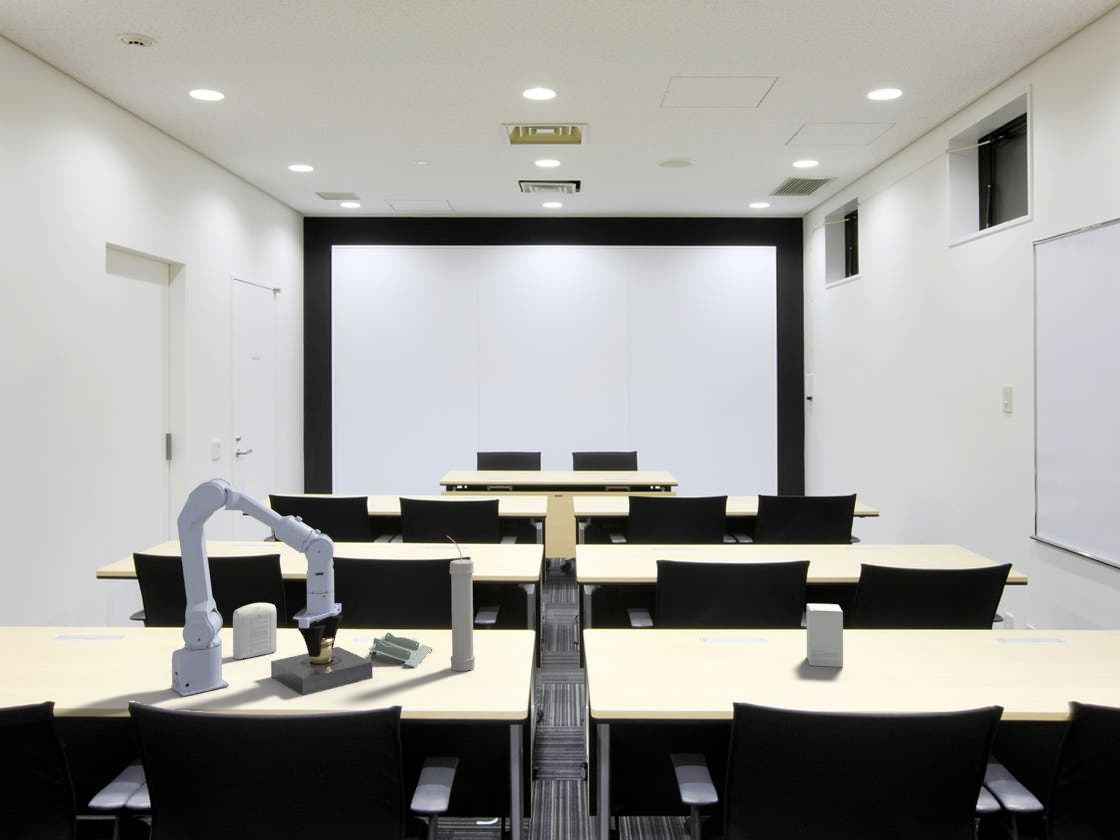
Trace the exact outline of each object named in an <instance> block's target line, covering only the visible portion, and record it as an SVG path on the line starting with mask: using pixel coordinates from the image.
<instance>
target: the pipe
mask: <svg viewBox="0 0 1120 840" xmlns="http://www.w3.org/2000/svg"><path fill="white" fill-rule="evenodd" d="M446 538H449V539H450V540H451V541H452V542H453V543H454V544H455V546H456V548H457V549H458V551H459V555H460V559H454V560H452V561H450V563H449V574H450V577H451V650H452V655H451V656H450V665H451V666H450V668H451V670H452V669H453V670H452V671H455V670H456V671H455V672H468V670H469V671H472V670H473V668H474V669H475V663H476V662H475V660H476V655H475V654H474V616H473V615H474V607H473V605H474V604H473V601H474V599H473V574H474V573H475V569H474V561H473V560H472V559H463V555H462V553H461V552H462V551H461V550H460V547H459V546H458V544H457V542H456V541H455V540H454V539H452V538H451V537H450V536H448V535H446ZM471 669H472V670H471Z"/></svg>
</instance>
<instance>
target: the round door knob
mask: <svg viewBox="0 0 1120 840" xmlns="http://www.w3.org/2000/svg"><path fill="white" fill-rule="evenodd" d="M333 642H334V643H335V641H334V639H333V637H331V636H322V640H321V650H320V655H319V657H311V664H312V665H325V664H329V663H331V662H332V643H333Z"/></svg>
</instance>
